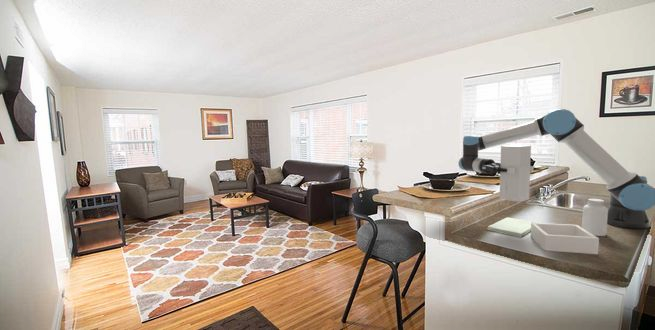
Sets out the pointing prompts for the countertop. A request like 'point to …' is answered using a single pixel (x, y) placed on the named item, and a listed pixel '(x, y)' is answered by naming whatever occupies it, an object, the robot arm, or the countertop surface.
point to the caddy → (564, 238)
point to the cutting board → (512, 226)
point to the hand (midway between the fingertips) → (523, 170)
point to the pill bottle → (595, 217)
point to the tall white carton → (518, 183)
